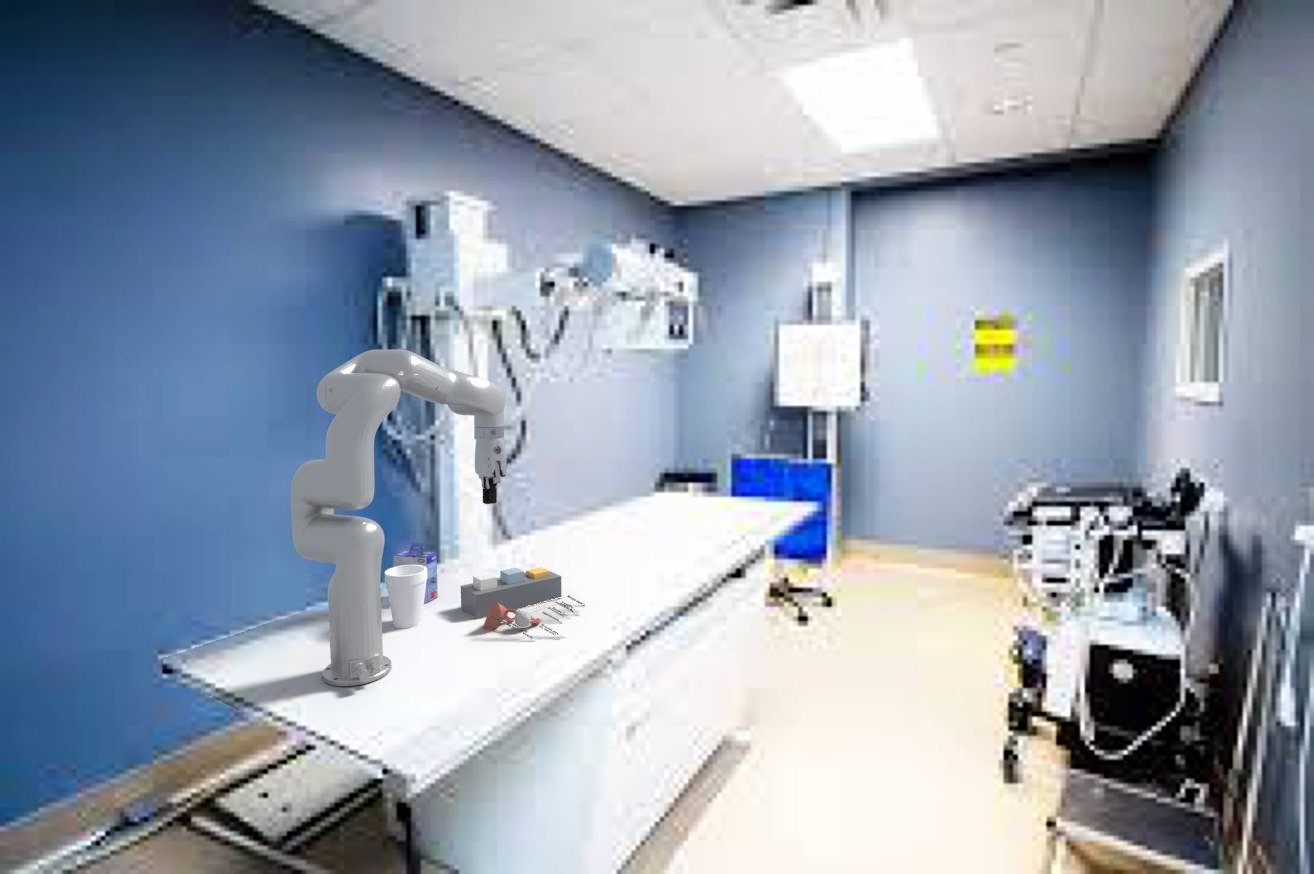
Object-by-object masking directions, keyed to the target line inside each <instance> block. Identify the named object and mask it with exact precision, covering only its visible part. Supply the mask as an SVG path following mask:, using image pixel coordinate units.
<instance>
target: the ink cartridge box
mask: <svg viewBox="0 0 1314 874" xmlns="http://www.w3.org/2000/svg"><path fill="white" fill-rule="evenodd" d="M414 547H419V549H418V548H414ZM424 548H425V543H415V542H413V543H411V546H410V549H409V551H408V550H404V551H400V552H399V553H396V554H394V555H393V567H396V566H402V565H422V566H425V567H426V568H427V578H428V579H427V580H426V589H425V598H424V604H426V603H429V602H431V601H433V600H435V599H437V598H438V556H437V555H438V554H437V552H433V551H432V552H431V551H424Z"/></svg>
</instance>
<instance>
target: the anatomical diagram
mask: <svg viewBox="0 0 1314 874" xmlns="http://www.w3.org/2000/svg"><path fill="white" fill-rule="evenodd" d="M566 597H567V598H569V599H570V600H572V601H574V602H577V603H578V604H580V605H582V604H584V603H583V602H581V601H580V600H577V599H576V598H573V597H572V596H571V595H566ZM562 598H563V599H564V598H565V596H564V597H562ZM548 600H550V599H548ZM558 600H560V599H557V600H553V601H552V600H551V601H549V602H546V603H545V602H544V601H543V602H544V604H543V603H542V602H541V603H540V604H543V605H540V604H539V603H538V604H536V605H532V606H528V607H524V608H522V609H506V608H505V607H504V606H502V605H500V604H499V603H497V602H496V601H495V603H492V605H491V607H490V610H489V612H488V615H487V617H485V621H484V623H483V626H482V629H483V630H491V629H492V630H494V629H496V628H498V626H500V624H501V623H503V624H505V625H507V626H508V627H510V628H512V629H514V630H516V631H518V632H519V633H520V634H521V633H522V635H525V636H526V637H528V638H529V639H531V640H533V639H532V638H534V637H533V635H529V634H527V633H528V630H526V629H525V627H528V625H529V624H532V623H533V624H536V625H538V627H539V628H540V629H542V630H544V631H546V632H549V634H551V635H554V634H556V633H557V634H558V632H557V631H555V630H553V629H552V628H550V627H549V626H548V627H547V626H546V625H545V624H544V623H541V622H542V619H541V618H538V617H536V618H535V617H533V616H534V615H538V614H540V613H541V614H544V615H546V616H547V617H549V618H552V619H553V620H554V621H556V620H557V621H559V619H557V618H556V617H554V616H552V615H551V614H550V615H549V613H547V612H545V611H546V610H550V611H551V612H553V613H555V614H557V615H558V616H560V617H563V618H564V617H565V616H567V613H565V612H562V611H560V610H559V609H557V608H555V607H554V606H556V605H559V606H560V607H562V608H563V609H566V610H568V611H569V612H571V613H573V612H574V611H573V610H574V609H573V606H572V605H569V604H568V603H566V602H564V601H562V600H561V602H558ZM546 601H547V600H546ZM550 603H554V604H553V605H550V606H545V605H548V604H550ZM537 605H540V606H538V607H534V606H537ZM531 607H534V608H532V609H529V608H531ZM540 608H541V609H540ZM526 609H529V610H526ZM537 609H538V610H537ZM572 609H573V610H572ZM532 610H533V611H532ZM534 610H535V611H534ZM531 611H532V612H531ZM528 612H529V613H528ZM509 613H513V614H514V617H510V616H508V614H509ZM514 621H515V622H514ZM540 623H541V624H540ZM554 636H555V635H554Z"/></svg>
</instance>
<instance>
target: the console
mask: <svg viewBox="0 0 1314 874" xmlns="http://www.w3.org/2000/svg"><path fill="white" fill-rule="evenodd" d="M547 570H548V569H547ZM548 571H549V576H548V577H544V578H539V579H532V578H530V577H528V576H526V572H525V571H524V582H521V583H516V584H511V585H507V584H505V583H503V582H501V581H500V577H497V588H493V589H488V590H484V591H479V590H477V589H475V588H474V587H473V582H472V583H468V584H464V585H463V584H462V585H460V609H461V610H462V611H464V612H465V613H467V614H468V615H469V616H471V617H472V618H474V619H476V620H478V619H482V618H483V619H484V618H487V615H488V612H489V610H490V607H491V605H492V603H495V601H496V602H497V603H499V604H500V605H502V606H504V607H505V608H506V609H516V610H519V609H518V608H520V609H524V608H527V607H526V606H528V605H532V606H533V605H534V604H537V603H540V602H543V601H546V600H547V601H548V599H550V600H551V599H555V598H558V597H561V598H562V576H561V575H559V574H557V573H555V572H553V571H551V570H548ZM548 602H549V601H548ZM540 604H541V603H540ZM537 605H538V604H537ZM534 606H535V605H534ZM523 607H524V608H523ZM528 607H529V606H528Z"/></svg>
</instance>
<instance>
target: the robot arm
mask: <svg viewBox="0 0 1314 874" xmlns="http://www.w3.org/2000/svg"><path fill="white" fill-rule="evenodd" d="M401 392H404V393H407V394H409V395H412V396H414V397H417V398H419V399H422V400H424V401H427V402H430V403H434V404H440V405H447V407H448V408H449V410H450V411H451V412H452V413H454V414H456V415H460V416H473V419H474V420H473V423H474V424H473V425H474V426H473V429H474V433H473V435H474V436H473V437H474V438H473V439H474V440H475V446H474V469H475V470H474V471H475V474H476V475H477V476H478V479H480V480H481V488H482V503H483V504H485V505H492V504H497V502H498V501H497V496H498V495H497V490H498V489H497V488H498V484H500V483H501V482H502V481H501V478H505V477H506V476H507V474H508V472H507V454H506V453H507V452H506V446H505V445H506V444H505V407H506V395H505V392H504V389H503V388H502V387H501V386H499V385H497V384H495V383H493V382H492V381H489V380H488V379H485V378H482V377H480V376H475V375H472V374H468V373H464V372H461V371H458V370H454V369H451V368H447V367H444V366H442V365H440V364H438V363H435V362H433V361H431V360H429V359H427V358H425V357H424V356H422V355H419V354H417V353H415V352H413V351H411V350H406V349H398V348H396V349H370V350H366V351H364V352H362V353H360V354H358V355H357V356H355V357H353V358H350V360H347V361H346V362H344V363H343V364H341V365H340V366H338V367H336V368H334V369H333V370H331V371H330V372H328V373H327V374H326V375H325V376H324V377H322V378H321V380H320V382H319V383H318V386H317V389H316V399H317V401H318V404H319V406H320V407H321V408H322V409H323V410H324V411H326V412H328V413H330V414H332V415H335V416H334V418H333V419H332V420H331V422H330V424H329V427H328V428H327V432H326V437H325V459H324V458H323V459H322V458H321V459H320V458H319V459H312V460H308V461H306V462H304V463H302V464H301V465H300V466H299V468H298V469H297V470H296V471H295V473H294V475H293V478H292V481H291V485H290V508H291V509H290V510H291V513H290V514H291V529H292V530H291V532H292V540H293V541H292V543H293V546H294V548H295V551H296V553H297V554H298V555H299V556H300V557H302V558H303V559H305V560H308V561H314V562H316V563H317V562H319V563H327V564H332V565H335V566H336V567H335V570H334V573H332V576H331V578H330V580H329V583H328V587H327V605H328V606H327V607H328V627H329V630H328V632H329V650H330V651H329V652H330V653H329V654H330V655H329V656H330V663H329V664H328V665H327V666H326V667H325V668H323V670H322V679H323V681H324V682H325V683H326V684H328V685H331V686H334V687H335V686H336V687H354V686H355V687H356V686H360V685H365V684H369V683H372V682H375V681H377V680H379V679H381V678H383V677H384V676H386V675H387V674H389V672H390V671H391V670H392V666H393V665H392V660H391V659H390V658H389V657H388V656H386V655H384V650H383V649H384V648H383V646H384V644H383V624H382V623H383V619H382V617H383V616H382V592H381V590H382V589H381V571H382V567H381V566H382V562H383V561H382V560H383V559H382V558H383V553H384V549H385V547H384V546H385V532H384V530H383V528H382V527H381V526H380V524H379V523H378V522H377V521H376V520H373V519H371V518H368V517H364V516H357V515H346V514H345V515H344V514H334V513H335V510H340V511H341V510H342V511H343V510H344V511H358V510H362V509H365V508H367V507H368V506H370V504H371V503H372V502H373V499H374V497H375V486H376V485H375V454H374V453H375V451H374V450H375V449H374V448H375V438H376V433H377V431H378V429H379V427H380V425H381V423H382V422H383V421H384V420H385V418H386V417H388V415H389V414H390V413H391V412H393V411H394V410H395V408H396V407H397V405H398V403H399V401H400V398H401Z"/></svg>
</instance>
